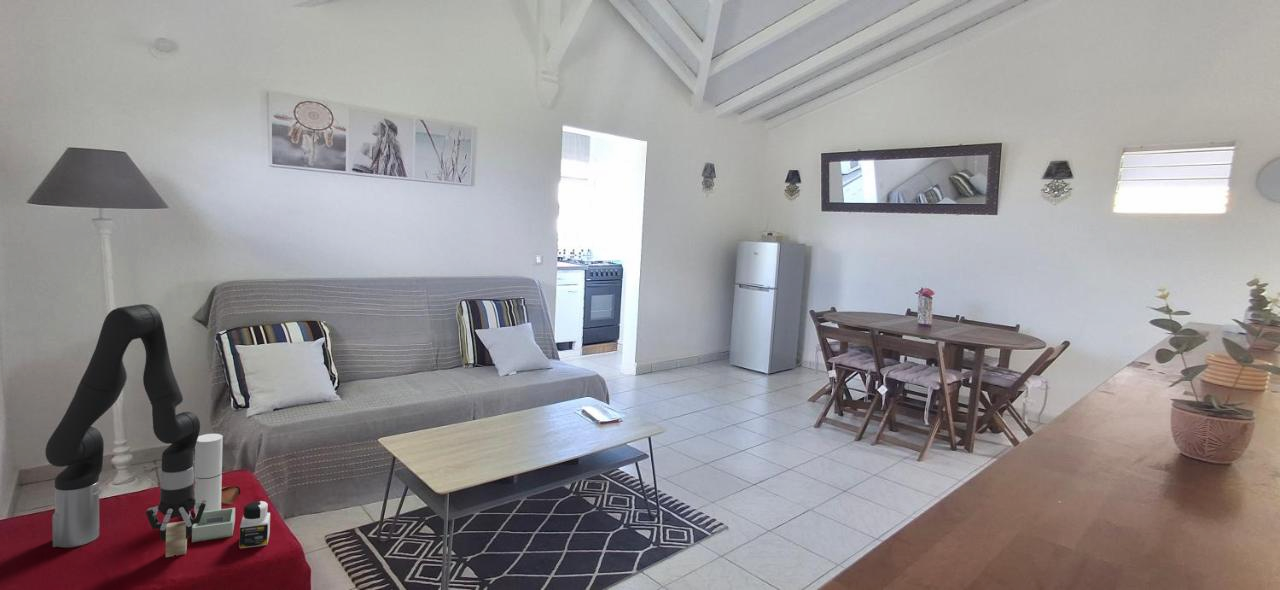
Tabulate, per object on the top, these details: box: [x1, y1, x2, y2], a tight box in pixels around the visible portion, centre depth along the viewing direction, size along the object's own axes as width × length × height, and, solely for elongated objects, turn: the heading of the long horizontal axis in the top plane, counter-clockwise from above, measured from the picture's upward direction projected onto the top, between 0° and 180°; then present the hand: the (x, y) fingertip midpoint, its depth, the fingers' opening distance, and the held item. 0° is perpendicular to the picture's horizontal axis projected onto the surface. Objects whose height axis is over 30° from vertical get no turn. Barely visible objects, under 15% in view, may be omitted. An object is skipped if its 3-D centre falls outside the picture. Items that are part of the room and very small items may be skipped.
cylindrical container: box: [193, 433, 224, 515], centre depth 192 cm, size 7×7×25 cm
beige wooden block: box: [165, 520, 188, 558], centre depth 169 cm, size 4×2×9 cm, turn 121°
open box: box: [191, 507, 236, 543], centre depth 182 cm, size 10×10×4 cm
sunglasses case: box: [194, 485, 241, 506], centre depth 200 cm, size 18×7×7 cm, turn 109°
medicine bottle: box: [238, 500, 271, 549], centre depth 179 cm, size 7×7×12 cm
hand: (176, 538), depth 169 cm, fingers closed on beige wooden block, 4 cm apart
